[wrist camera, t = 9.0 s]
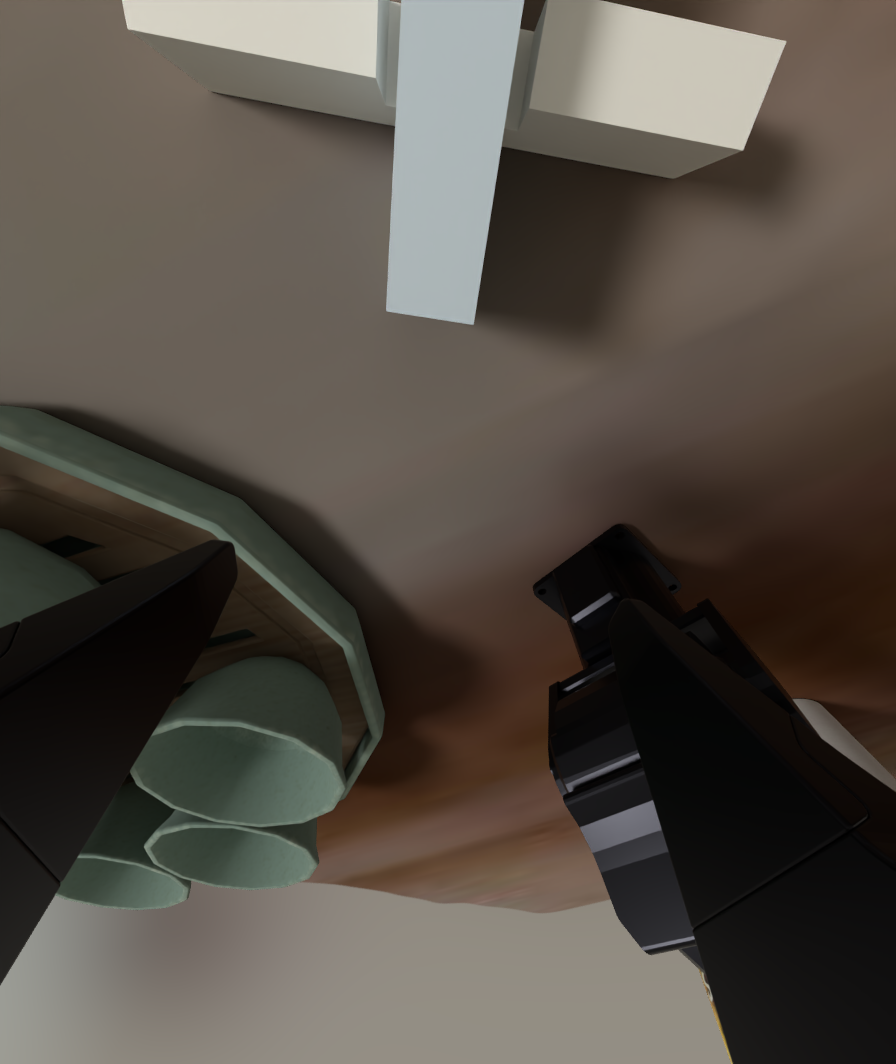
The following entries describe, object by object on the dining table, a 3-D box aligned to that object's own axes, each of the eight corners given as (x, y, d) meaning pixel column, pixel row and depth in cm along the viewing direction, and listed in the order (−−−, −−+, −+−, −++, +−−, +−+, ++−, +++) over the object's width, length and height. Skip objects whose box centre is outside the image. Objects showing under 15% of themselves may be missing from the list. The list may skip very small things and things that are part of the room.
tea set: (105, 821, 43) (-58, 1082, 29) (-443, 517, 22) (-1911, 923, 8) (457, 757, 36) (465, 1058, 22) (143, 236, 15) (-2430, -63, 2)
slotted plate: (444, -260, 10) (442, -816, 5) (543, -233, 10) (639, -741, 5) (405, 299, 16) (386, 311, 11) (465, 308, 17) (473, 324, 11)
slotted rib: (699, 100, 13) (786, 40, 10) (673, 179, 14) (742, 150, 11) (197, -4, 12) (100, -111, 9) (209, 91, 13) (127, 28, 10)
